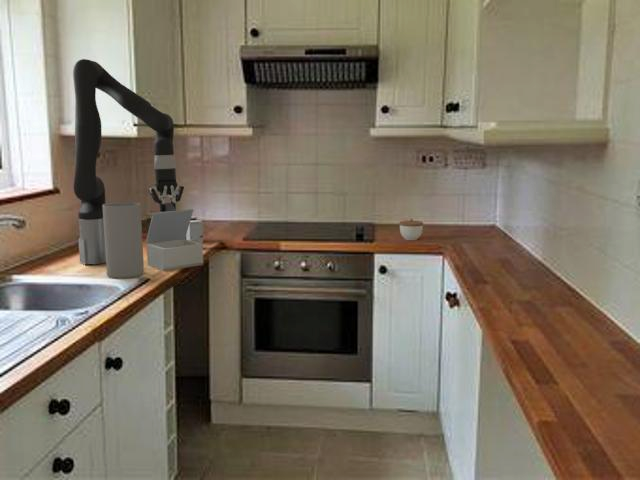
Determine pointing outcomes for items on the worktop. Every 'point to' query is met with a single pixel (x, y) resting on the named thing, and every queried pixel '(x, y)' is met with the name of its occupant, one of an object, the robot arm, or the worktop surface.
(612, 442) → the worktop surface
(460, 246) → the worktop surface
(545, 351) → the worktop surface
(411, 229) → the lidded jar
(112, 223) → the cylinder vase
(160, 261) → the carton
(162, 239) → the grey plate
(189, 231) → the skincare box
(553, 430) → the worktop surface
